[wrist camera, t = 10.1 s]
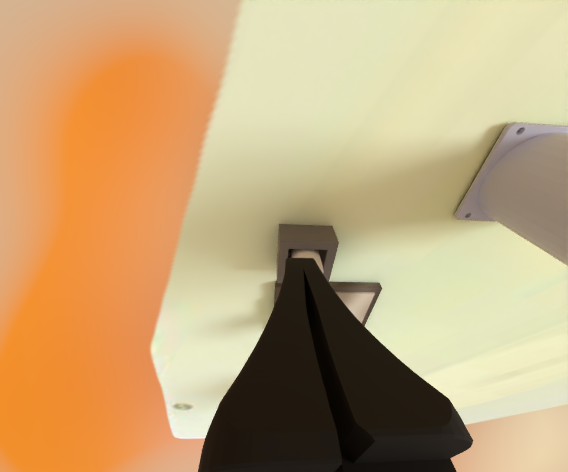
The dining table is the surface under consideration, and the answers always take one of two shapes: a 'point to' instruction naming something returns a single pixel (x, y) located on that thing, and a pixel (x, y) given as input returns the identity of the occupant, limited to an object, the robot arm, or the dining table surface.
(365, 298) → the grey flat tray
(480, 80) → the dining table surface
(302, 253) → the button cap
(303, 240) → the button box
